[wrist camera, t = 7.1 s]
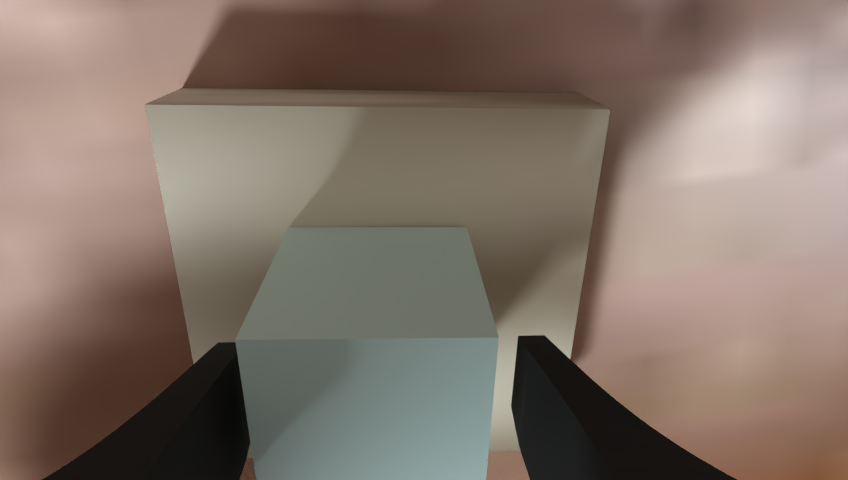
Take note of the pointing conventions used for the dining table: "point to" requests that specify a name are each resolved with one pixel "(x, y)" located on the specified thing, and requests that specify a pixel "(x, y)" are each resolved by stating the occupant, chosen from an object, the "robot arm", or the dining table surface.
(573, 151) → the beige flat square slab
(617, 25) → the dining table surface
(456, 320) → the mint block
